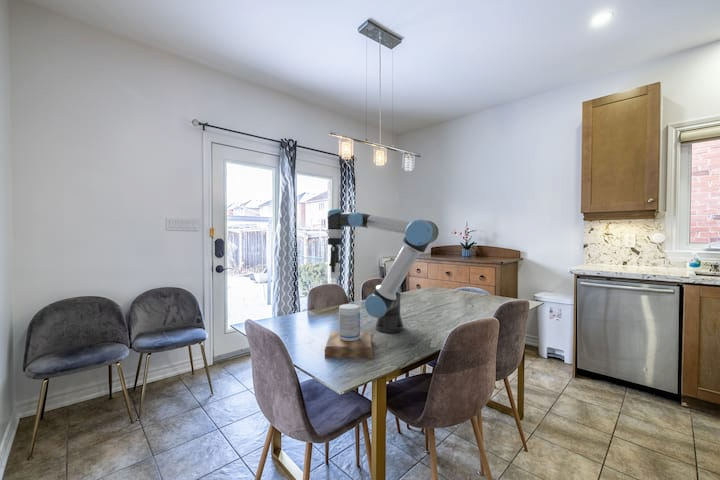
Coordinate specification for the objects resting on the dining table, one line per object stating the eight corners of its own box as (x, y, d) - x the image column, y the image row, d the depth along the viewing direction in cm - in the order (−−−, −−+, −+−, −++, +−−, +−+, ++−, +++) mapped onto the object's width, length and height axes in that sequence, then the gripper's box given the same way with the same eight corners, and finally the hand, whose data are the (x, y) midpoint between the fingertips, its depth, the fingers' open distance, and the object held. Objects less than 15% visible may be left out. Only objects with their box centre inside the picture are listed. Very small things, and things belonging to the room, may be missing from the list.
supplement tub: (363, 340, 137) (363, 307, 136) (343, 343, 133) (342, 309, 133) (355, 333, 146) (355, 302, 145) (336, 336, 142) (336, 304, 142)
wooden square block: (371, 341, 149) (371, 331, 149) (372, 358, 129) (372, 347, 129) (330, 341, 150) (330, 331, 149) (324, 358, 130) (324, 346, 129)
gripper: (330, 237, 181) (330, 273, 181) (324, 238, 156) (324, 279, 156) (343, 237, 180) (343, 273, 181) (339, 238, 155) (339, 280, 156)
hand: (334, 276), depth 169 cm, fingers open, 13 cm apart
